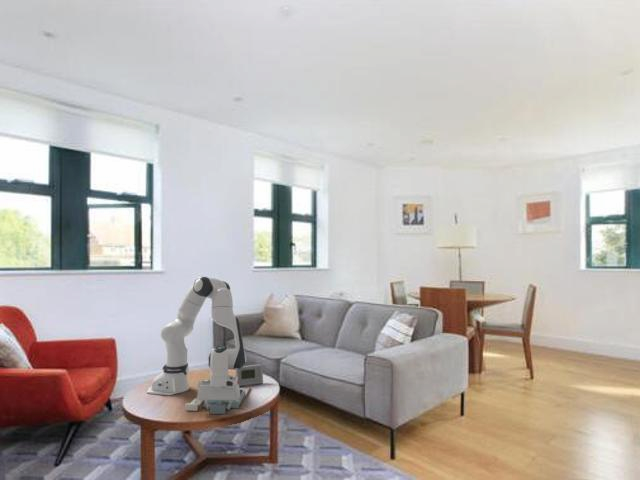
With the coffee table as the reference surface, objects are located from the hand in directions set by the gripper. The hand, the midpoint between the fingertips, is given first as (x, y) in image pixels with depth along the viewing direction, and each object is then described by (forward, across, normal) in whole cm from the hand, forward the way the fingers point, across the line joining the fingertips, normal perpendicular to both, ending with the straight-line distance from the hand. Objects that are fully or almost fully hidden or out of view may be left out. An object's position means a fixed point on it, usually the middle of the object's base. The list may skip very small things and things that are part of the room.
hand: (218, 408), depth 183 cm
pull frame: (+1, 0, +10) cm, 10 cm away
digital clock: (+2, +8, +40) cm, 41 cm away
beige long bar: (+2, -14, +15) cm, 20 cm away
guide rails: (+2, 0, +18) cm, 18 cm away
